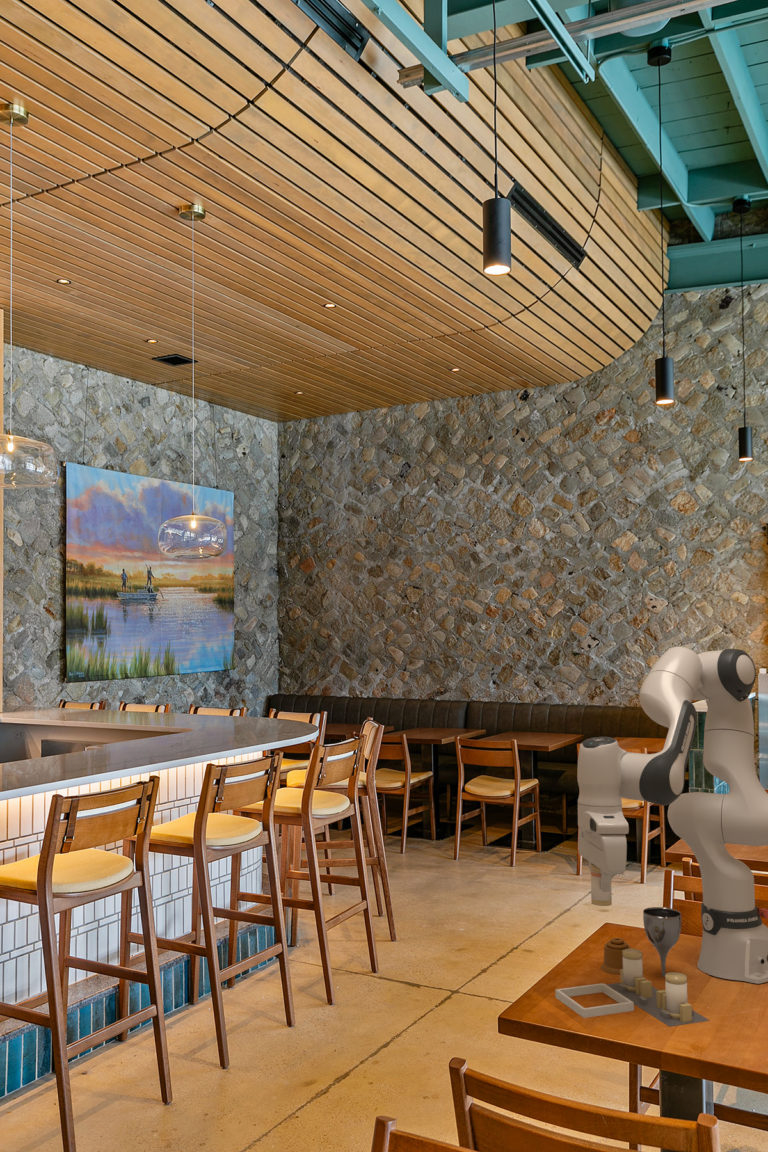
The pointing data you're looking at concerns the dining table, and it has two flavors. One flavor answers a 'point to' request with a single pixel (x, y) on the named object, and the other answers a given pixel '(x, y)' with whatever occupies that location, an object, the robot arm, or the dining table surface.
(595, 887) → the marked fuse
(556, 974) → the dining table surface
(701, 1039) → the dining table surface
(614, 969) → the ornamental finial
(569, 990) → the tray
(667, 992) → the fuse
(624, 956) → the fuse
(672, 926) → the wine glass
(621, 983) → the fuse block
